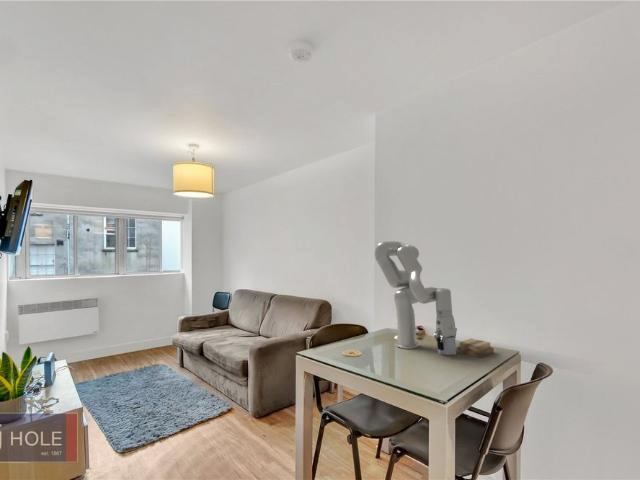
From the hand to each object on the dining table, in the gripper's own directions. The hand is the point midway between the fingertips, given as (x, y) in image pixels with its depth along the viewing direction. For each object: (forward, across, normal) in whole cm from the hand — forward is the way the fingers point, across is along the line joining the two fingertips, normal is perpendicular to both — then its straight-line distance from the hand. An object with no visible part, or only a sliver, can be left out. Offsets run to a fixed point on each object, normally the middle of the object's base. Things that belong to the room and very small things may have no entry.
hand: (446, 347), depth 161 cm
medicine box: (+3, 0, 0) cm, 3 cm away
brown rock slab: (+3, +12, -8) cm, 15 cm away
